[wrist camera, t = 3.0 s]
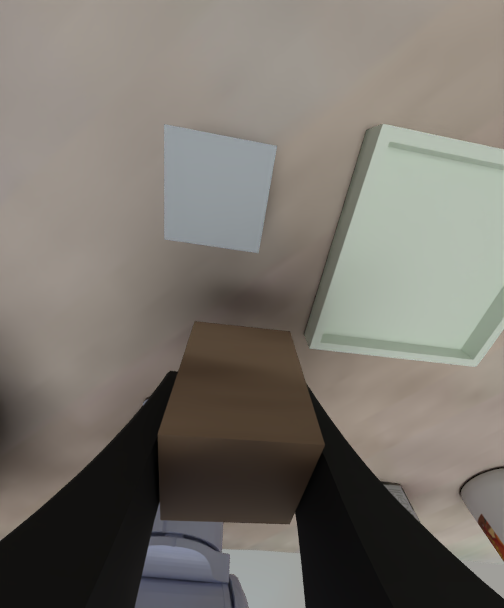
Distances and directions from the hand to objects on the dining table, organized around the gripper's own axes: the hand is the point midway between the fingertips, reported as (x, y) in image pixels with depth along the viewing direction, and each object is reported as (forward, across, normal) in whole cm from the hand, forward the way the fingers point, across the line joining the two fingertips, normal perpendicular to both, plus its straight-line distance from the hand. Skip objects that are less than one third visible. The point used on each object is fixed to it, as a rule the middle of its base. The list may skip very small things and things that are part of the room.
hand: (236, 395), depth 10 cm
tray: (+8, -12, -4) cm, 15 cm away
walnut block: (+2, 0, 0) cm, 2 cm away
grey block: (+8, +2, -7) cm, 11 cm away
